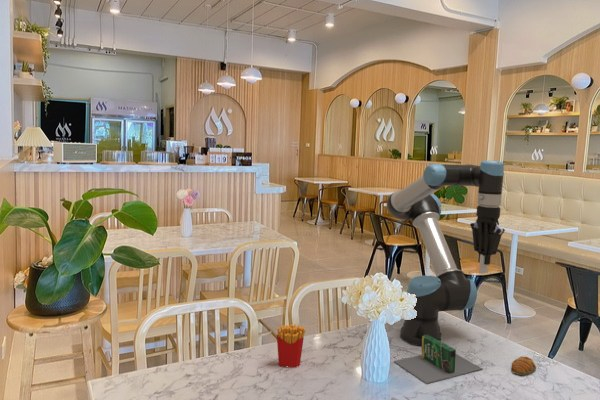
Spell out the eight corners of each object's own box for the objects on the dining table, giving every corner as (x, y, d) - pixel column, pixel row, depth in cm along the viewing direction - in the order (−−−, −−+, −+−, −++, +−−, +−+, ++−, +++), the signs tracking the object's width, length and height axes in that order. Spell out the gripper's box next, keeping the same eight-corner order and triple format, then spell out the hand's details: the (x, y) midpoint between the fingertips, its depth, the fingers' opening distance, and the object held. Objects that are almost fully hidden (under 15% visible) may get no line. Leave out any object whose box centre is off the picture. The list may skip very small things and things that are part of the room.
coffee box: (448, 375, 151) (420, 357, 162) (455, 372, 152) (426, 355, 163) (450, 351, 149) (421, 335, 161) (456, 349, 151) (428, 333, 162)
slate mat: (393, 362, 158) (393, 360, 158) (447, 350, 169) (447, 349, 169) (426, 384, 144) (426, 383, 144) (482, 369, 155) (482, 368, 155)
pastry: (527, 379, 150) (528, 368, 150) (505, 372, 155) (506, 361, 154) (537, 370, 157) (538, 359, 156) (516, 363, 161) (517, 352, 161)
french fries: (275, 367, 152) (277, 328, 150) (276, 361, 156) (277, 323, 155) (304, 367, 152) (305, 329, 151) (303, 361, 157) (305, 324, 155)
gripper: (466, 203, 165) (461, 269, 168) (496, 208, 154) (490, 279, 157) (481, 203, 169) (476, 267, 171) (512, 208, 157) (506, 276, 160)
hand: (483, 272), depth 164 cm, fingers closed
